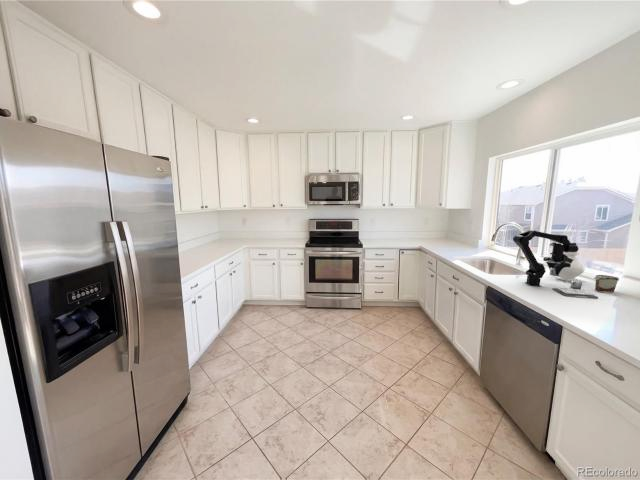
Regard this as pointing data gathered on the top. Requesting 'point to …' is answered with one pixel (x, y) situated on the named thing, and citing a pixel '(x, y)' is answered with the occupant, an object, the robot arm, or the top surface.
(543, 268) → the robot arm
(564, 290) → the scale pan
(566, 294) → the scale
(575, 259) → the decorative vase
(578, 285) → the spacer
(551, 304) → the top surface
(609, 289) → the food container
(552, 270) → the spacer
